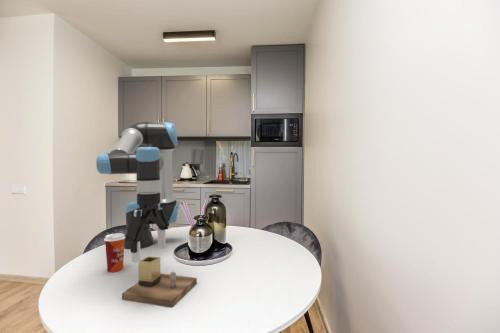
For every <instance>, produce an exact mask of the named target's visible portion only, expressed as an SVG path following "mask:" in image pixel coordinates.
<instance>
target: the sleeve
mask: <svg viewBox="0 0 500 333" xmlns="http://www.w3.org/2000/svg"><path fill="white" fill-rule="evenodd" d="M137 263H138V262H137ZM137 265H138V282H139V285H141V286H148V287H152V286H154V285H155V284H156V283H158V282H159V281H161V274H162V271H161V268H162V267H161V257H157V256H149V255H148V256H146V257H144V258H141V262H139V263H138V264H137Z"/></svg>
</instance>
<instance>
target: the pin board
mask: <svg viewBox="0 0 500 333" xmlns="http://www.w3.org/2000/svg"><path fill="white" fill-rule="evenodd" d="M197 280H198V278H197V277H191V276H182V275H177V273H176V272H175V271H172V272H170V274H167V273H161V281H159V282H158V283H156V284H155V285H154V286H152V287H148V286H141V285H139V281H138V282H136V283H135V284H134V285H132V286H131V287H129V288H127V289H126V290H124V291H122V292H121V300H123V301H129V300H130V302H135V301H136V303H141V302H142V304H149V305H153V306H154V305H156V306H162V307H166V308H167V307H168V308H172V307H174V306H175V305H176V304H177V303H178V302H179V301H180V300H181V299H182V298H183V297H184V296H186V294H188V292H189V291H191V290H192V289H193V288H194V287H195V286H196V284H197V283H198V281H197Z"/></svg>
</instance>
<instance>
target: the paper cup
mask: <svg viewBox="0 0 500 333" xmlns="http://www.w3.org/2000/svg"><path fill="white" fill-rule="evenodd" d="M124 240H125V234H124V233H121V232H120V233H119V232H118V233H117V232H115V233H110V234H107V235H105V237H104V239H103V241H104V242H105V257H106V268H107V272H108V273H115V272H116V273H117V272H120V271H122V270H123V269H124V260H125V258H124V256H125V248H124Z"/></svg>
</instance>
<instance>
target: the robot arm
mask: <svg viewBox="0 0 500 333" xmlns="http://www.w3.org/2000/svg"><path fill="white" fill-rule="evenodd" d="M177 134H178V133H177V130H176V126H175V123H173V122H167V121H140V122H136V123H133V124H131V125H129V126H127V127H125V129H124V130H123V131H122V132H121V135H120V139H119V140H118V141H117V143H116V144H115V145H114V147H113V148H112V149H111V150H110V152H109V153H108V152H105V153H99V154H98V155H97V157H96V160H95V161H96V162H95V163H96V170H97V172H98V173H99V174H102V175H125V174H128V175H129V174H130V175H132V174H133V175H134V174H135V175H136V192H137V193H136V200H134V201H131V202H128V203H127V204H126V206H125V228H126V230H125V234H124V236H125V240H124V249H129V250H130V253H131V262H132V263H139V262H141V260H142V258H141V249H144V248H148V247H150V246H152V245H153V244H154V242H155V241H154V237H153V234H152V232H151V231H152V230H151V225H156V226H157V228H158V229H157V232H156V233H157V248H159V249H165V248H166V230H169V226H170V224H172V223H176V222H177V219H178V211H179V204H180V202H179V201H178V200H177V198H176V197H175V195H174V183H173V180H174V179H173V177H174V176H173V151H174V150H175V147H176V146H178V136H177ZM139 146H140V147H139Z"/></svg>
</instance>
